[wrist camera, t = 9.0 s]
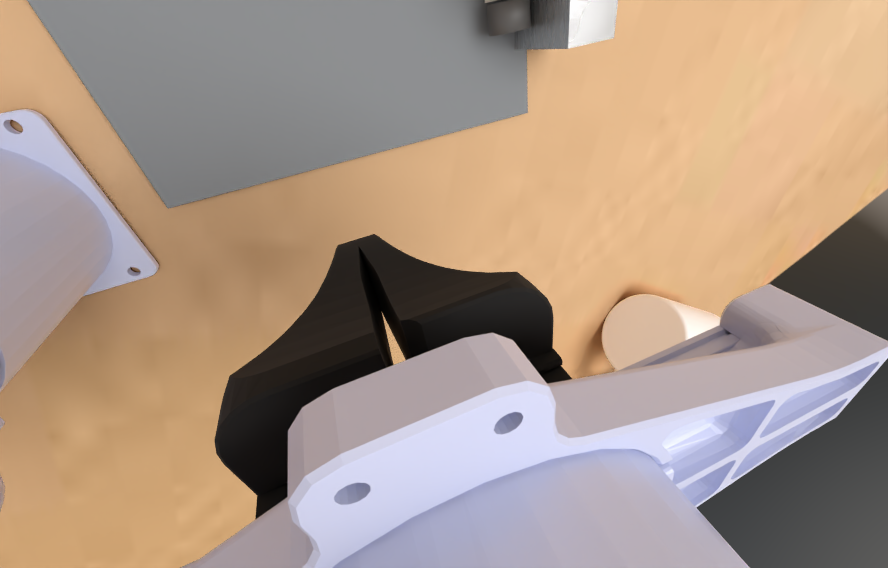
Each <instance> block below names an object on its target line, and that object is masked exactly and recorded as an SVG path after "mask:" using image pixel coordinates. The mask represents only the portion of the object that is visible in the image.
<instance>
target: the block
mask: <svg viewBox="0 0 888 568" xmlns="http://www.w3.org/2000/svg"><path fill="white" fill-rule="evenodd" d="M493 1H497V0H485V3H489V2H493ZM487 16H488V28H489V36H496V35H502V34H507V33H512V32H516V31H520V30H524V29H528V28H530V27H531V20H530V0H508V1H503V2H499V3H495V4H491V5H487Z"/></svg>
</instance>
